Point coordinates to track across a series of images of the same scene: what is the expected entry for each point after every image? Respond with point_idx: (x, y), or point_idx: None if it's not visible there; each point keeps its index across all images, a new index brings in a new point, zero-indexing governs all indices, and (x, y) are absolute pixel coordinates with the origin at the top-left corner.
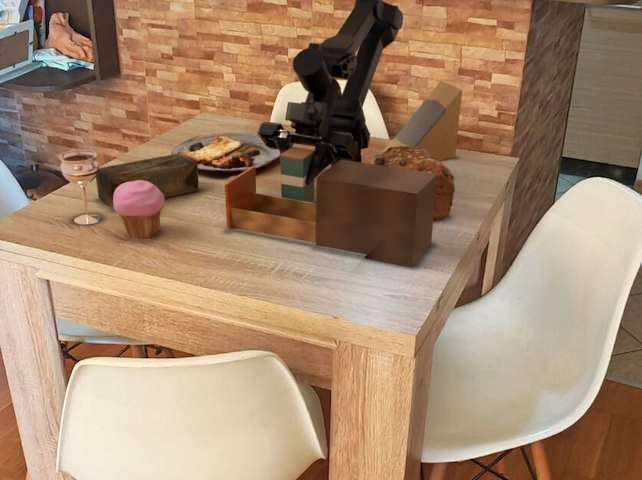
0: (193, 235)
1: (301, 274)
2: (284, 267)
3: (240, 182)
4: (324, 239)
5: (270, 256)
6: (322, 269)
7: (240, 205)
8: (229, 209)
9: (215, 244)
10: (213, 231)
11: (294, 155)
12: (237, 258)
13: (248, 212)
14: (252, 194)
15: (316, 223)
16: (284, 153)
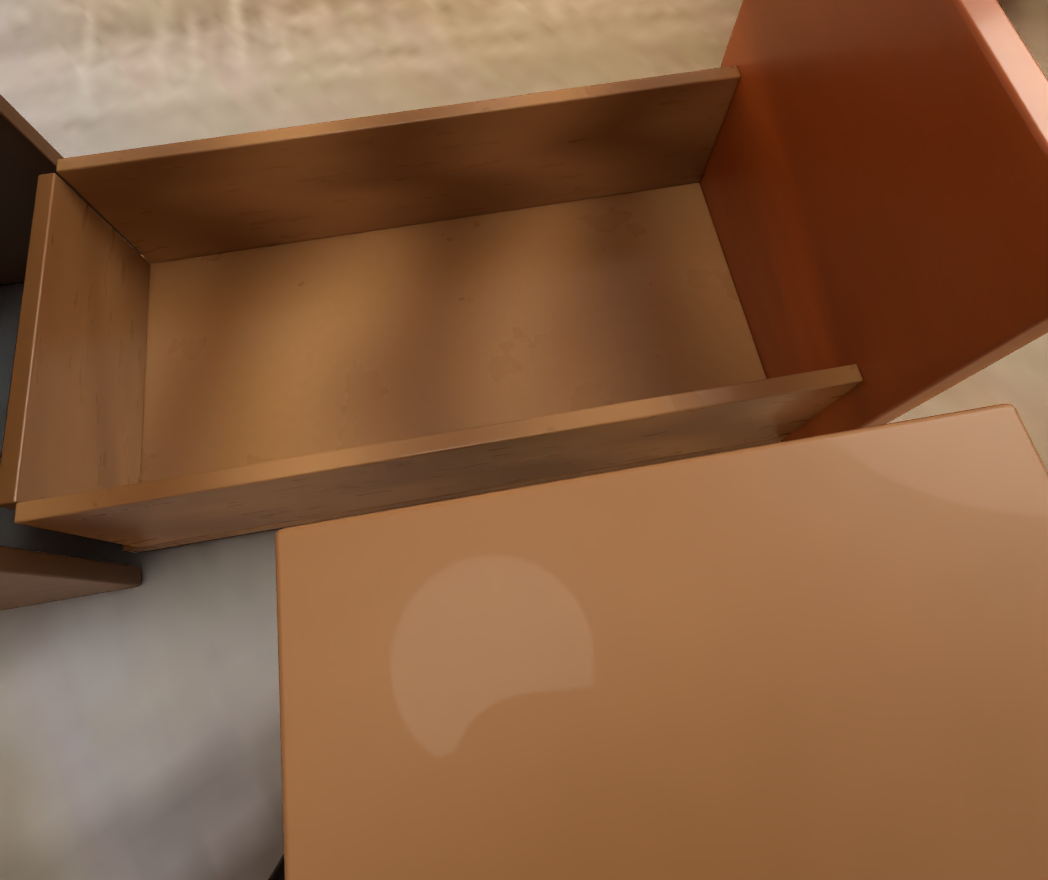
0: None
1: (110, 33)
2: (211, 43)
3: (876, 26)
4: None
5: (327, 86)
6: (37, 106)
7: (768, 192)
8: (729, 48)
9: (634, 52)
10: None
11: (644, 588)
12: (447, 8)
13: (597, 90)
14: (847, 349)
15: (22, 119)
16: (1017, 559)
